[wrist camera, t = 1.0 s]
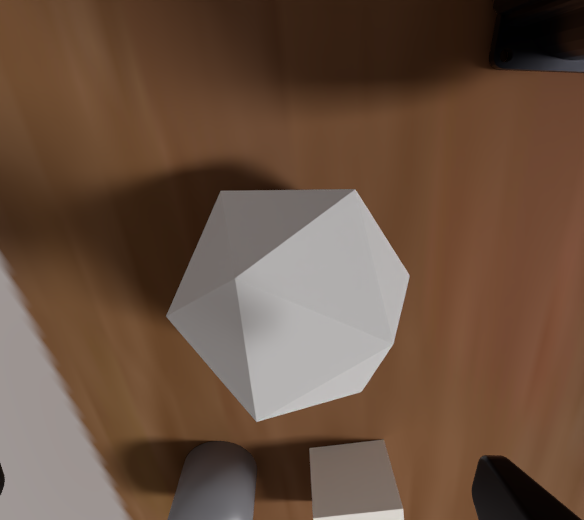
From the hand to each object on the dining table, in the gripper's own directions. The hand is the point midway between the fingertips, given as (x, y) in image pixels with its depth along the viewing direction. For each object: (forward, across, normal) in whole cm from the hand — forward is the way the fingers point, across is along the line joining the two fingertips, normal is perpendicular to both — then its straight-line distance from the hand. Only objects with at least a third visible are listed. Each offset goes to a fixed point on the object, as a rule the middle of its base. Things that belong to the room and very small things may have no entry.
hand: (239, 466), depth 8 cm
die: (+13, -1, +1) cm, 13 cm away
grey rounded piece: (+13, +3, +15) cm, 20 cm away
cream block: (+13, -5, +15) cm, 20 cm away
